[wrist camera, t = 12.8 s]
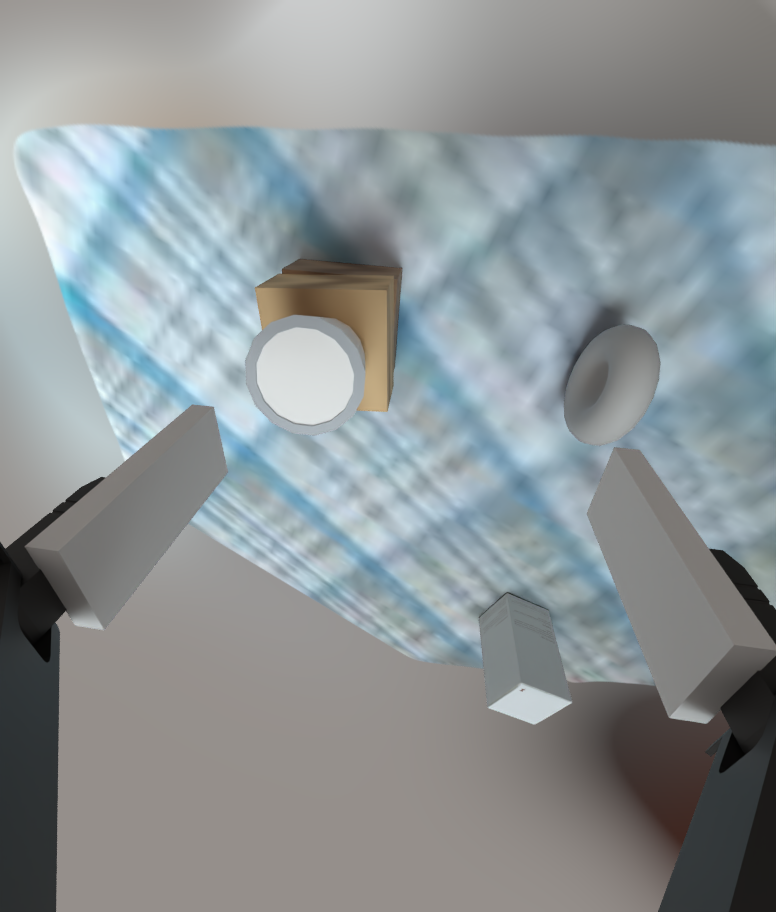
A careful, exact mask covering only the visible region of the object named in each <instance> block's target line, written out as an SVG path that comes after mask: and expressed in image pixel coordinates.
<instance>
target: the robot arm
mask: <svg viewBox="0 0 776 912" xmlns="http://www.w3.org/2000/svg"><path fill="white" fill-rule="evenodd" d="M227 473H228V470H227V465H226V461H225V456H224V452H223V447H222V443H221V438H220V433H219V429H218V424H217V420H216V415H215V411H214V407H210V406H201V405H191V406H190V407H189V408H188V409H187V410H185V411H184V412H183V413H182V414H181V415H179V416H178V417H177V418H176V419H175V420H174V421H172V422H171V423H170V424H169V425H168V426H166V427H165V428H164V429H163V430H162V431H161V432H159V433H158V434H157V435H156V436H155V437H153V438H152V439H151V440H150V441H149V442H148V443H146V444H145V445H144V446H143V447H142V448H140V449H139V450H138V451H137V452H136V453H135V454H133V455H132V456H131V457H130V458H129V459H127V460H126V461H125V462H124V463H123V464H122V465H120V466H119V467H118V468H117V469H116V470H114V472H112V473H111V474H110V475H109V476H107V477H106V478H105V477H100V478H98V479H97V480H94V481H92V482H90V483H88V484H87V485H85V486H82V487H81V488H79V490H77V491H76V492H75V493H73V494H72V495H71V496H70V497H69V498H67V499H66V502H65V503H64V502H63V503H61V504H60V505H59V506H57V507H56V508H55V509H54V510H53V512H52V513H49V514H48V515H47V516H45V517H44V518H43V519H41V520H40V521H39V522H38V523H37V524H35V525H34V526H33V527H32V528H30V529H29V530H28V531H27V532H26V533H24V534H23V535H22V536H21V537H20V538H18V539H17V540H16V541H14V542H13V543H12V544H11V545H10V546H8V547H7V548H6V549H5V548H4V547H3V545H2V544H1V542H0V912H56V873H57V872H56V871H57V801H58V727H59V723H58V722H59V654H60V653H59V652H60V632H59V628H58V626H57V624H56V623H55V622H56V621H57V620H58V619H59V618H60V616H61V615H62V614H63V613H64V612H65V611H66V612H67V613H68V614H69V616H70V618H71V620H72V621H73V623H74V624H75V625H76V626H81V627H87V628H94V629H100V630H105V629H106V627H107V626H108V625H109V623H110V622H111V621H112V620H113V619H114V617H115V616H116V615H117V613H118V612H119V611H120V610H121V608H122V607H123V606H124V605H125V603H126V602H127V601H128V599H129V598H130V597H131V595H132V594H133V593H134V592H135V590H136V589H137V588H138V587H139V585H140V584H141V583H142V581H143V580H144V579H145V578H146V576H147V575H148V574H149V572H150V571H151V570H152V569H153V567H154V566H155V565H156V564H157V562H158V561H159V560H160V558H161V557H162V556H163V555H164V553H165V552H166V551H167V550H168V548H169V547H170V546H171V544H172V543H173V542H174V541H175V539H176V538H177V537H178V535H179V534H180V533H181V531H182V530H183V529H184V528H185V526H186V525H187V524H188V523H189V521H190V520H191V519H192V518H193V516H194V515H195V514H196V512H197V511H198V510H199V509H200V507H201V506H202V505H203V504H204V502H205V501H206V500H207V498H208V497H209V496H210V495H211V493H212V492H213V491H214V489H215V488H216V487H217V486H218V484H219V483H220V482H221V481H222V479H223V478H224V477H225V475H226V474H227ZM587 516H588V518H589V521H590V523H591V526H592V528H593V531H594V533H595V536H596V538H597V540H598V543H599V545H600V548H601V550H602V553H603V555H604V558H605V560H606V563H607V565H608V568H609V570H610V573H611V575H612V578H613V580H614V583H615V585H616V588H617V590H618V593H619V595H620V597H621V600H622V602H623V605H624V607H625V610H626V612H627V615H628V617H629V620H630V622H631V625H632V627H633V630H634V632H635V635H636V637H637V640H638V642H639V645H640V647H641V650H642V652H643V655H644V657H645V659H646V662H647V664H648V667H649V669H650V672H651V674H652V677H653V679H654V682H655V684H656V687H657V689H658V692H659V694H660V696H661V699H662V701H663V704H664V707H665V709H666V712H667V714H668V716H669V718H674V719H680V720H687V721H693V722H699V723H708V722H709V721H710V720H711V719H712V718H713V717H714V716H715V715H716V714H717V713H718V712H719V711H720V710H722V713H723V714H724V717H725V718H726V720H727V722H728V724H729V726H730V729H729V730H727V732H725V733H724V734H723V735H722V736H721V737H720V738H719V739H718V740H717V741H715V742H714V743H713V744H712V745H711V746H710V747H709V748H708V749H707V750H706V753H707V754H708V755H710V756H712V755H713V754H715V753H716V752H717V753H716V756H715V759H714V761H713V764H712V766H711V769H710V772H709V775H708V777H707V780H706V783H705V786H704V788H703V791H702V794H701V796H700V799H699V802H698V804H697V807H696V810H695V813H694V815H693V818H692V821H691V824H690V826H689V829H688V832H687V834H686V837H685V840H684V843H683V845H682V848H681V851H680V853H679V856H678V859H677V862H676V864H675V867H674V870H673V873H672V875H671V878H670V881H669V883H668V886H667V889H666V891H665V894H664V897H663V900H662V902H661V905H660V908H659V910H658V912H776V609H775V608H774V607H773V605H770V604H769V602H770V601H769V600H768V599H767V597H766V596H765V595H764V593H763V592H762V591H761V590H759V589H758V588H757V587H758V585H757V584H756V583H755V582H754V580H753V579H752V578H751V576H750V575H749V574H748V572H747V571H746V570H745V568H744V567H743V566H741V565H740V564H739V563H738V562H737V561H735V560H734V559H733V558H732V557H730V556H729V555H728V554H727V553H726V552H724V551H723V550H715V549H709V548H708V547H707V546H706V544H705V543H704V541H703V540H702V538H701V537H700V536H699V534H698V533H697V531H696V530H695V528H694V527H693V526H692V524H691V523H690V521H689V520H688V518H687V517H686V516H685V514H684V513H683V511H682V510H681V508H680V507H679V505H678V504H677V503H676V501H675V500H674V498H673V497H672V495H671V494H670V493H669V491H668V490H667V488H666V487H665V485H664V484H663V483H662V481H661V480H660V478H659V477H658V475H657V474H656V473H655V471H654V470H653V468H652V467H651V465H650V464H649V463H648V461H647V460H646V458H645V457H644V455H643V454H642V453H641V451H640V450H635V449H625V448H615V447H614V449H613V451H612V454H611V456H610V459H609V461H608V463H607V466H606V468H605V471H604V473H603V475H602V478H601V480H600V483H599V485H598V488H597V490H596V492H595V495H594V497H593V500H592V502H591V504H590V507H589V509H588V512H587Z"/></svg>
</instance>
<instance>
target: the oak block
mask: <svg viewBox="0 0 776 912" xmlns="http://www.w3.org/2000/svg"><path fill="white" fill-rule="evenodd" d="M255 291H256V297H257V303H258V309H259V314H260V320H261V326H262V330H263V329H264V328H265V327H266V326H267V325H269V324H270V323H271V322H273V321H276V320H279V319H282V318H285V317H289V316H292V315H303V316H315V317H326V318H335V319H337V320H339V321H341V322H343V323H344V324H346V325H348V326H350V327H351V329H352V330H353V331H354V332H355V333H356V335H357V336H358V337H359V338H360V340H361V344H362V347H363V350H364V353H365V386H364V397H363V399H362V401H361V402H360V404H359V406H358V408H357V410H358V411H379V412H387V411H388V407H389V402H390V398H391V394H392V389H393V367H394V276H382V275H320V274H278V275H276V276H274V277H272V278H271V279H269V280H267V281H266V282H264V283H262V284H260V285H259V286H257V287H255Z"/></svg>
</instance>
